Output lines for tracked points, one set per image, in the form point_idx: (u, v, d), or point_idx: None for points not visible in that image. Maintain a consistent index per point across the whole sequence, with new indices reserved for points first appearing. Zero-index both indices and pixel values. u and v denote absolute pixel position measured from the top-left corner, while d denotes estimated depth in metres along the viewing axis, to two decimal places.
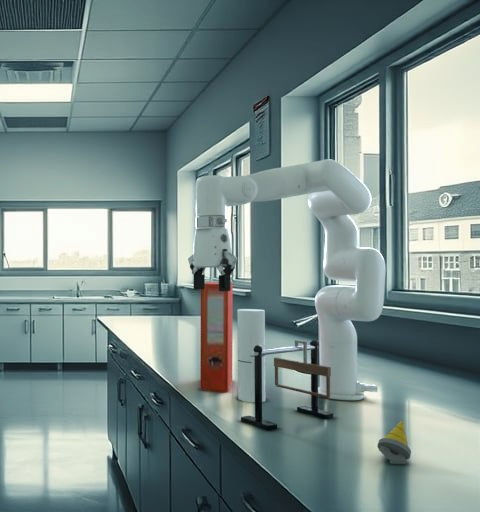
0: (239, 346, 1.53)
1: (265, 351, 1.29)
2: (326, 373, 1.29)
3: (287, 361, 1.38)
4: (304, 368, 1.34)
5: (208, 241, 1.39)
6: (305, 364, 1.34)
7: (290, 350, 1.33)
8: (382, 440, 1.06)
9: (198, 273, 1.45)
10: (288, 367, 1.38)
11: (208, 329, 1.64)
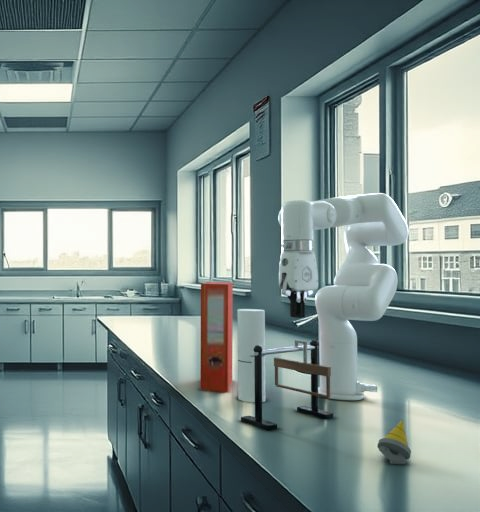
0: (239, 346, 1.53)
1: (265, 351, 1.29)
2: (326, 373, 1.29)
3: (287, 361, 1.38)
4: (304, 368, 1.34)
5: None
6: (305, 364, 1.34)
7: (290, 350, 1.33)
8: (382, 440, 1.06)
9: None
10: (288, 367, 1.38)
11: (208, 329, 1.64)
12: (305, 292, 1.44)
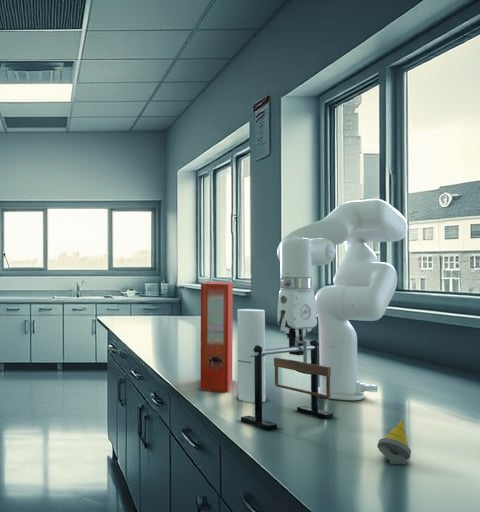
0: (239, 346, 1.53)
1: (265, 351, 1.29)
2: (326, 373, 1.29)
3: (287, 361, 1.38)
4: (304, 368, 1.34)
5: None
6: (305, 364, 1.34)
7: (290, 350, 1.33)
8: (382, 440, 1.06)
9: None
10: (288, 367, 1.38)
11: (208, 329, 1.64)
12: (304, 329, 1.43)
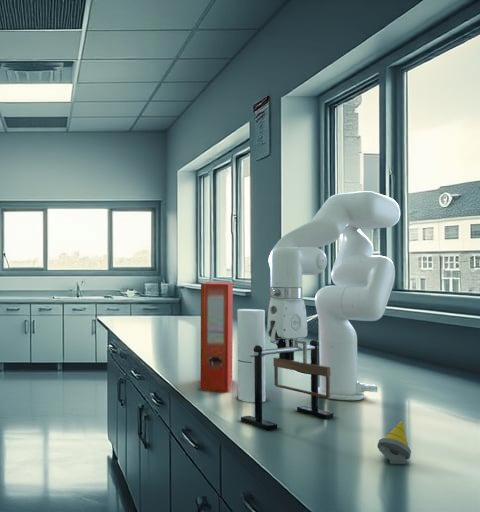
0: (239, 346, 1.53)
1: (265, 351, 1.29)
2: (326, 373, 1.29)
3: (287, 361, 1.38)
4: (303, 368, 1.34)
5: None
6: (305, 364, 1.34)
7: (290, 350, 1.33)
8: (382, 440, 1.06)
9: None
10: (288, 367, 1.38)
11: (208, 329, 1.64)
12: None
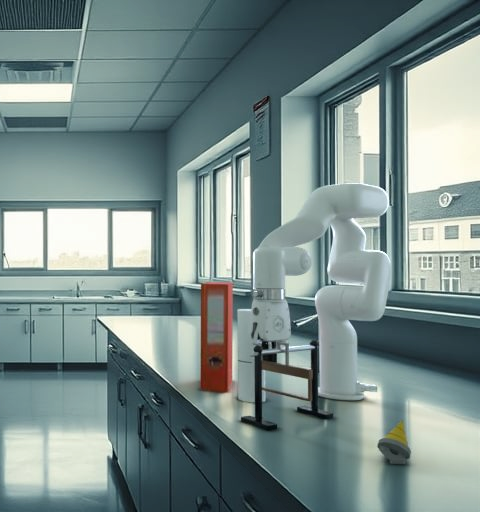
0: (239, 346, 1.53)
1: (265, 351, 1.29)
2: (308, 375, 1.26)
3: (269, 363, 1.35)
4: (286, 370, 1.31)
5: None
6: (287, 366, 1.31)
7: (290, 350, 1.33)
8: (382, 440, 1.06)
9: None
10: (270, 369, 1.35)
11: (208, 329, 1.64)
12: None
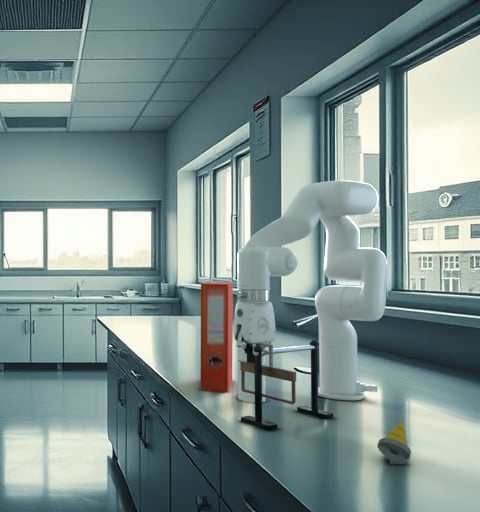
0: None
1: (265, 351, 1.29)
2: (291, 378, 1.23)
3: (253, 365, 1.33)
4: (269, 372, 1.29)
5: None
6: (271, 368, 1.28)
7: (290, 350, 1.33)
8: (382, 440, 1.06)
9: None
10: (254, 371, 1.33)
11: (208, 329, 1.64)
12: None
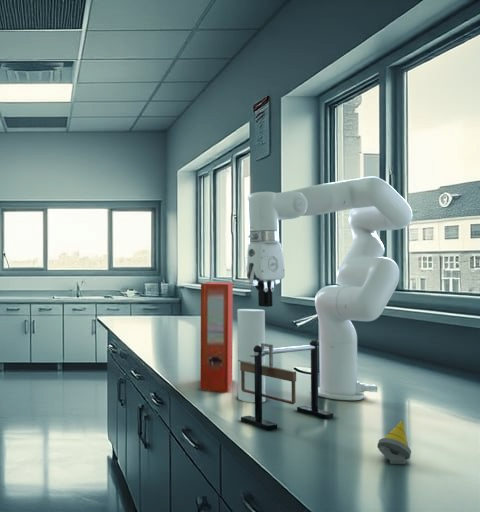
0: (239, 346, 1.53)
1: (265, 351, 1.29)
2: (291, 378, 1.23)
3: (253, 365, 1.33)
4: (269, 372, 1.29)
5: None
6: (271, 368, 1.28)
7: (290, 350, 1.33)
8: (382, 440, 1.06)
9: None
10: (254, 371, 1.33)
11: (208, 329, 1.64)
12: (272, 281, 1.47)
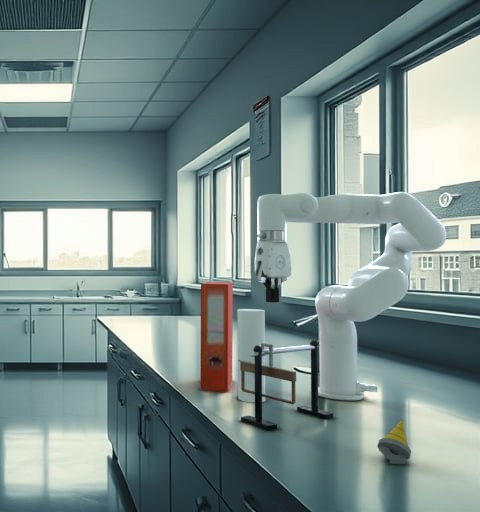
0: (239, 346, 1.53)
1: (265, 351, 1.29)
2: (291, 378, 1.23)
3: (253, 365, 1.33)
4: (269, 372, 1.29)
5: None
6: (271, 368, 1.28)
7: (290, 350, 1.33)
8: (382, 440, 1.06)
9: None
10: (254, 371, 1.33)
11: (208, 329, 1.64)
12: (279, 279, 1.55)
